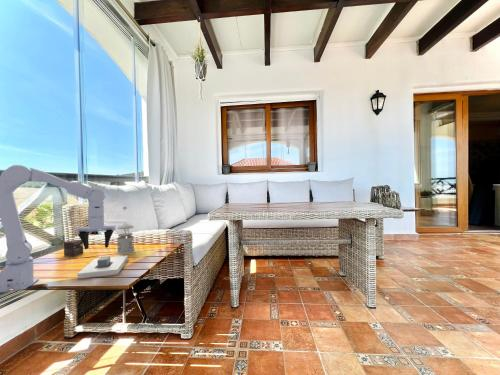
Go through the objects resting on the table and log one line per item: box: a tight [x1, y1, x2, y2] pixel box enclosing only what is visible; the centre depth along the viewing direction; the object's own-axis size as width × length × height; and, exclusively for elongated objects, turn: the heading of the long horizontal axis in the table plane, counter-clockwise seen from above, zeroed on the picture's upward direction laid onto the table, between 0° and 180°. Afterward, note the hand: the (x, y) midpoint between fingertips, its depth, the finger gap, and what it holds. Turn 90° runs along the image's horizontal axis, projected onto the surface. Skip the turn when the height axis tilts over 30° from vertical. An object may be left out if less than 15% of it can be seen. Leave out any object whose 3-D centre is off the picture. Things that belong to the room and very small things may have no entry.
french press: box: [115, 206, 136, 256], centre depth 129 cm, size 10×12×25 cm
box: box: [63, 239, 84, 257], centre depth 125 cm, size 6×6×7 cm
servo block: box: [97, 256, 111, 268], centre depth 101 cm, size 5×4×5 cm
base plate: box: [77, 255, 129, 280], centre depth 103 cm, size 20×14×2 cm
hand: (96, 247), depth 102 cm, fingers open, 7 cm apart
